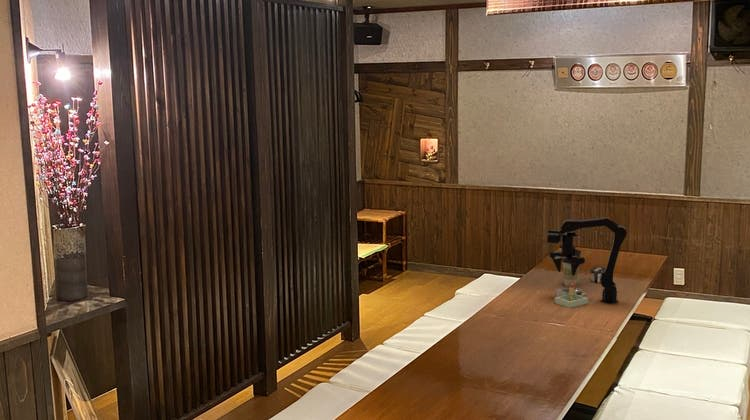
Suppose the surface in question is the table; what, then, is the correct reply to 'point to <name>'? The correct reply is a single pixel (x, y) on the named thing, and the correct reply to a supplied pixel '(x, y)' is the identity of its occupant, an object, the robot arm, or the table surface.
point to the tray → (576, 302)
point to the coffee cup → (569, 272)
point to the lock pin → (571, 291)
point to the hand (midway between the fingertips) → (566, 273)
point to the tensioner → (566, 291)
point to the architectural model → (596, 273)
